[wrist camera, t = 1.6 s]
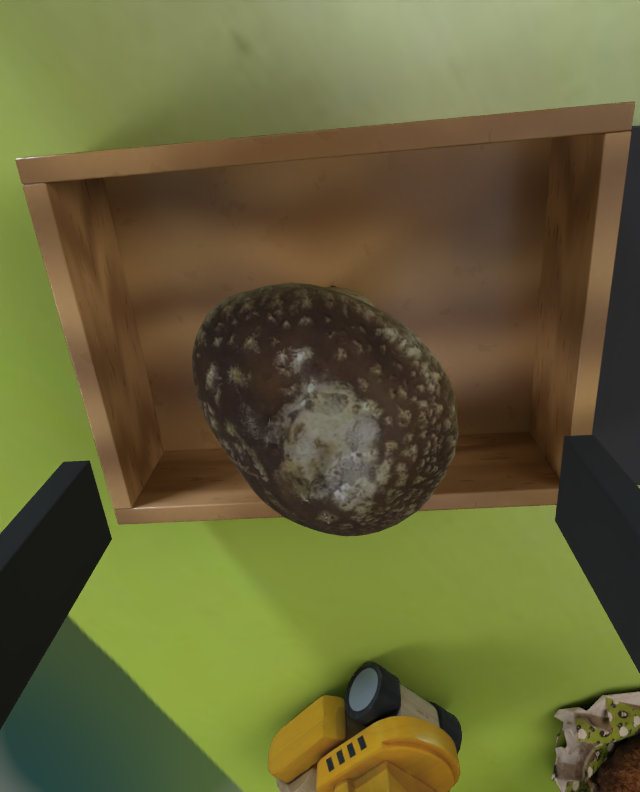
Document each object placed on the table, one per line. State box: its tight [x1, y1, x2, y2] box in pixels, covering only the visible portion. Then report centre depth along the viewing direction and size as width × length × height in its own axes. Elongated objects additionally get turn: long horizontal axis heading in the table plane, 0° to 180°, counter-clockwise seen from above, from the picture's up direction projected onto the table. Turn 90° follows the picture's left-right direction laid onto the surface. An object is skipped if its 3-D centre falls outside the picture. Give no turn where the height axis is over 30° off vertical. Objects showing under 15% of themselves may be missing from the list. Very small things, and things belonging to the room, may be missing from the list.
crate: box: [15, 102, 635, 524], centre depth 28 cm, size 18×24×6 cm
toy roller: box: [268, 662, 462, 792], centre depth 40 cm, size 9×14×10 cm, turn 138°
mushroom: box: [192, 283, 458, 536], centre depth 24 cm, size 9×9×15 cm
